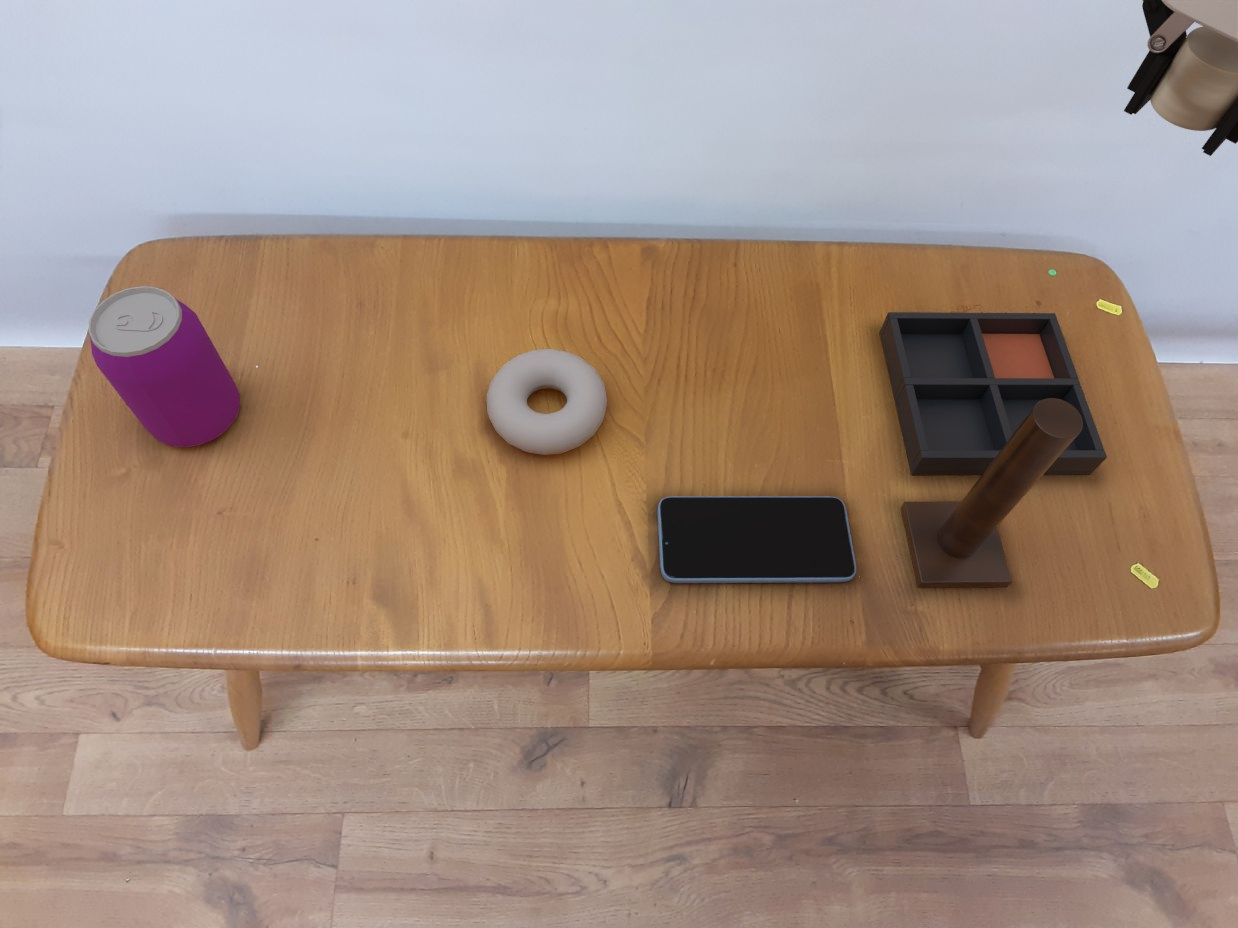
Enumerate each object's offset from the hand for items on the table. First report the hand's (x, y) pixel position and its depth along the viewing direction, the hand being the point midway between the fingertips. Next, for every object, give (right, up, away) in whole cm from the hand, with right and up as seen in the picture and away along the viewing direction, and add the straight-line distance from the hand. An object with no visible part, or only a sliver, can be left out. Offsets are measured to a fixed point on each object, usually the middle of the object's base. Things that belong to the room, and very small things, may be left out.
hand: (1177, 121), depth 57 cm
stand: (-10, -28, +13) cm, 33 cm away
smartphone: (-25, -28, +13) cm, 40 cm away
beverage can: (-71, -18, +17) cm, 75 cm away
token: (0, +1, -1) cm, 1 cm away
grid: (-4, -16, +20) cm, 27 cm away
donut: (-42, -18, +18) cm, 49 cm away
